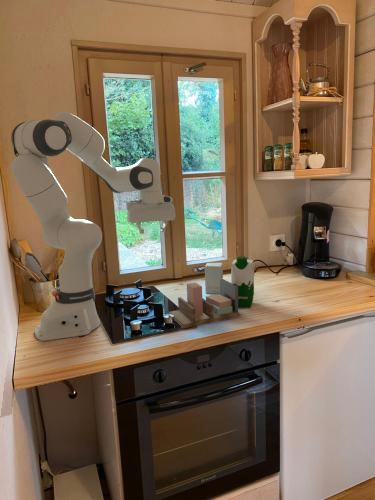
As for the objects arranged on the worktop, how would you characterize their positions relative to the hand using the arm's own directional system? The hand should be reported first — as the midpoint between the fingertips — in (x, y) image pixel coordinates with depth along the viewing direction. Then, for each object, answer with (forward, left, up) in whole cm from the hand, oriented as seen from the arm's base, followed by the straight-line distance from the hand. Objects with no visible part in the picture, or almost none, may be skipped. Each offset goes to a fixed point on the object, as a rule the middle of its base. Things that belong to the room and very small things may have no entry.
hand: (152, 232), depth 157 cm
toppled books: (+14, -28, -28) cm, 42 cm away
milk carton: (+27, -25, -30) cm, 47 cm away
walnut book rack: (+8, -27, -29) cm, 41 cm away
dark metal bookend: (+19, -28, -28) cm, 44 cm away
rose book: (+4, -27, -28) cm, 39 cm away
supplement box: (+27, -3, -30) cm, 41 cm away
